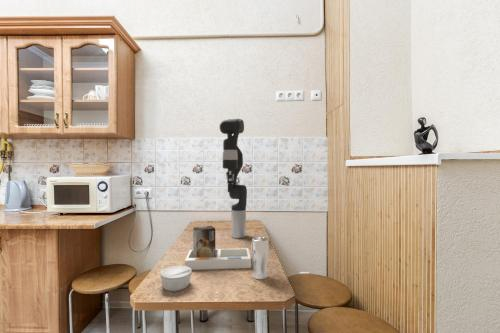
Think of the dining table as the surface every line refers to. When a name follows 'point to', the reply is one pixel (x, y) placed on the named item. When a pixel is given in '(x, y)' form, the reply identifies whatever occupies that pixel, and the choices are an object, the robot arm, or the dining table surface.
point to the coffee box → (204, 241)
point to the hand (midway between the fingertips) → (229, 191)
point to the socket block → (220, 260)
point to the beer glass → (260, 257)
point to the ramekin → (176, 277)
